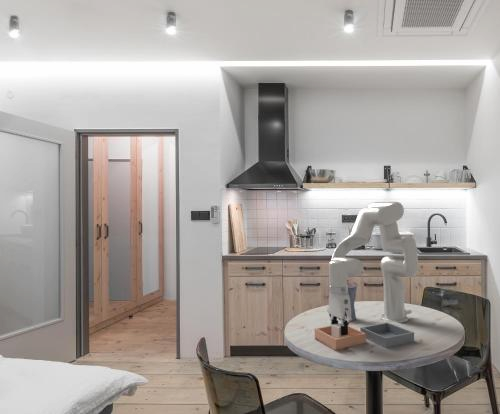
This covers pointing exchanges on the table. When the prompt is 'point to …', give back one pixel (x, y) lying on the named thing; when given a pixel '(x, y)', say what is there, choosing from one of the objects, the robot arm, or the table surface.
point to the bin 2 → (387, 334)
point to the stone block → (337, 331)
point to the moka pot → (352, 299)
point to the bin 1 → (340, 343)
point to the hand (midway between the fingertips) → (339, 332)
